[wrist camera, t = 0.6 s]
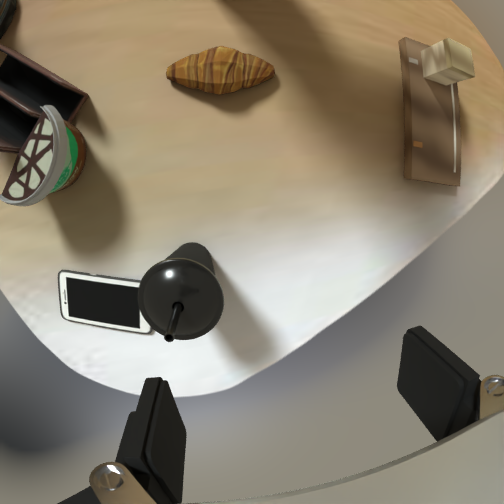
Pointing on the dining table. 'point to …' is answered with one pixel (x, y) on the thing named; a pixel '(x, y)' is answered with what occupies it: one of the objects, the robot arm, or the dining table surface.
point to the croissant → (220, 70)
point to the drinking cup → (182, 294)
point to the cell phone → (101, 301)
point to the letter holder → (30, 98)
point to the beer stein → (6, 14)
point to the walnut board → (429, 122)
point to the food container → (46, 160)
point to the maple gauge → (447, 62)
